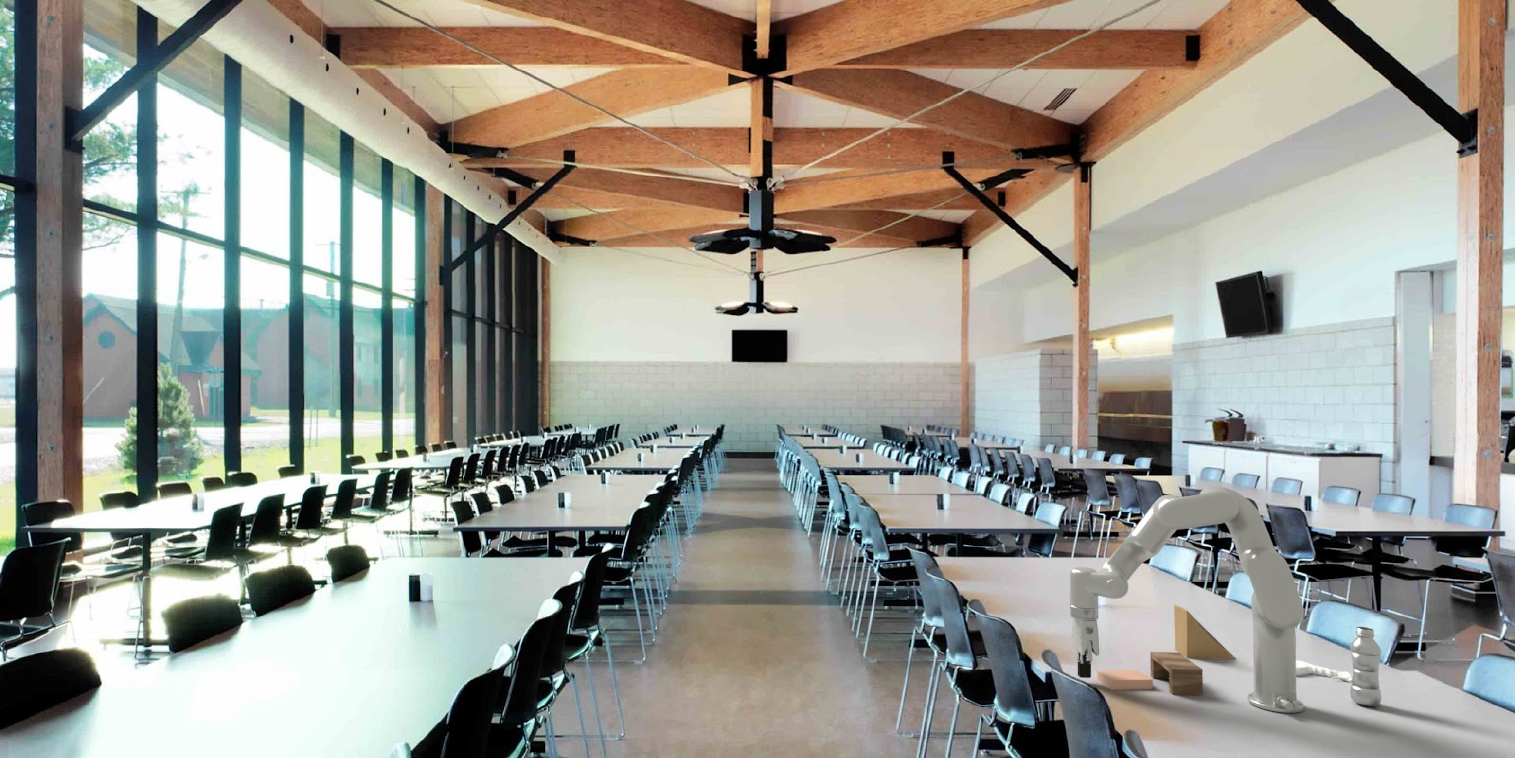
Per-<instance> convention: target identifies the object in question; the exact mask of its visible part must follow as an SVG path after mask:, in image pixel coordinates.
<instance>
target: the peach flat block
mask: <svg viewBox="0 0 1515 758" xmlns="http://www.w3.org/2000/svg"><path fill="white" fill-rule="evenodd" d="M1096 674H1097V676H1096V677H1097V681H1098V682H1099V683H1101V684H1103V686H1105V687H1107V688H1108V689H1110V690H1111V691H1112V690H1149V689H1150V690H1151V689H1154V685H1153V683H1154V678H1152V677H1151V676H1148V675H1147V674H1145V673H1143V672H1142V671H1140V670H1138V669H1125V670H1124V669H1121V670H1120V669H1117V670H1115V669H1114V670H1113V669H1111V670H1097V671H1096Z"/></svg>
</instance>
